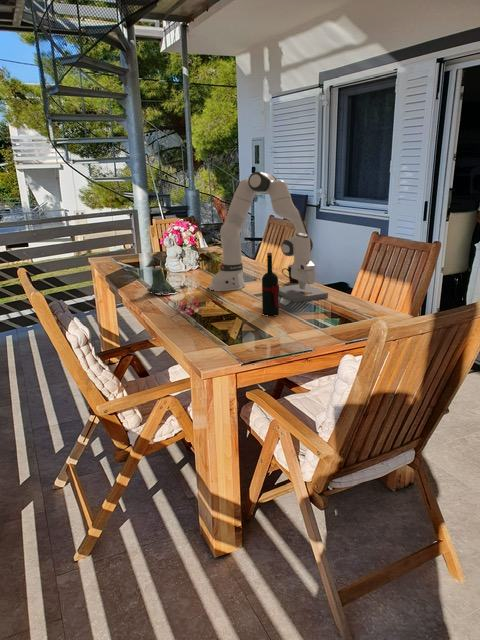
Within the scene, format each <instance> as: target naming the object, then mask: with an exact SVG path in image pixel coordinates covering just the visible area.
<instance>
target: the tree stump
mask: <svg viewBox="0 0 480 640" xmlns="http://www.w3.org/2000/svg"><path fill="white" fill-rule="evenodd" d="M151 272H152V273H151V274H152V284H151V287H150V288H146V292H149V293H150V292H152V293H163V294H168V293H175V292H178V291H176V290H175V289H174V288H175V287H173V286H172V285H171V284H170V283H169V282H168V281H167V280H166V278H165V274H164V271H163V267H162V266H156V267H154V268H153V269H151ZM152 293H151V294H152Z"/></svg>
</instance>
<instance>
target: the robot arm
mask: <svg viewBox="0 0 480 640" xmlns="http://www.w3.org/2000/svg"><path fill="white" fill-rule="evenodd" d="M257 194H262V195H263V194H264V195H269V198H270V202H271V207H272V209H273V212H274V214H275V215H277V217H279V218H283V219H286V220H288V221H290V222H291V223H292V225H293V227H294V230H295V232H296V233H295V234H294V235H293V236H291V237H289V238H285V239H284V240H283V241H282V242H281V252H282V253H283V255H284V256H286V257H293V262H292V264H291V265H292V267H291V277H292V278H294V279H296V280H298V283H297V284H299V285H300V289H305V285H306V284H307V285H313V284H314V283H315V281H316V272H315V271H316V270H315V269H316V265H315V263H313V261H312V260H311V252H312V250H313V248H314V244H313V240H312V239H311V237H310V235H309V233H308V230H307V226H306V225H305V222H304V219H303V216H302V214H301V212H300V210H299V209H298V208H297V207H296V205H294V203H293V199H292V196H291V192H290V189H289V186H288V184H287V182H286V181H285V180H283V179H277V177H276V176H274V175H273V174H270V173H268V172H262V171H254V172H252V173H251V174H250V175H249V177H248V178H243V179H241V181H240V183H239V184H238V186H237V187H236V190H235V192H234V195H233V197H232V198H231V202H230V205H229V208H228V211H227V214H226V217H225V220H224V223H223V225H221V226H220V231H219V232H220V233H219V234H220V243H221V250H222V264H220V263H219V264H217V268H219V269H220V270H219V271H218V272H217V273H216V274H215V275H214V276H213V277H212V278H211V284H210V285H208V286H207V288H209V289H210V291H211V290H214V291H213V292H216V291H217V292H227V291H239V290H241V289H242V288H245V287H246V283H245V279H244V274H243V272H244V271H243V269H244V266H243V259H242V245H241V233H242V231H243V228H244V225H245V222H246V220H247V217H248V213H249V212H250V209H251V207H252V204H253V201H254V199H255V196H256V195H257ZM209 289H208V290H209Z"/></svg>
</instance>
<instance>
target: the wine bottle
mask: <svg viewBox="0 0 480 640" xmlns="http://www.w3.org/2000/svg"><path fill="white" fill-rule="evenodd" d="M266 255H267V256H266V257H267V258H266V263H267V272H266V273H265V274H264V275H263V276H262V278H261V293H262V295H261V297H262V298H261V299H262V302H261V305H262V309H261V310H262V315H263V314H264V315H268V316H273V317H275V316H274V315H277V316H278V315H280V313H279V312H280V311H279V310H280V305H279V303H280V302H279V294H278V292H279V287H280V284H279V277H278V276H277V274H276V273H275V272H273V253H272V252H267V254H266ZM264 315H263V316H264Z"/></svg>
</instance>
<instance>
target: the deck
mask: <svg viewBox="0 0 480 640" xmlns="http://www.w3.org/2000/svg"><path fill="white" fill-rule="evenodd" d="M307 291H308V292H310V294H306V295H304V293H305V292H307ZM278 296H281V297H282V298H284V299H287V300H289V301H291V302H292V303H301V302H307V301H312V300H314V301H315V300H320V299H325V298H327V299H328V297H329V293H328V292H326V291H324V290H323V289H320V288H318V287H314V286H312V285H311V284H306V285H305V289H300V285H299V283H297V284H291V285H285V286H279V292H278Z"/></svg>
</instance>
